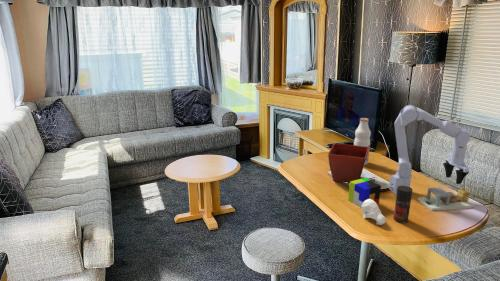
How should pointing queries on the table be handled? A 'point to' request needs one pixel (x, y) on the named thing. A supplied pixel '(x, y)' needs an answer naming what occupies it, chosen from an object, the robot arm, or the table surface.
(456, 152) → the robot arm
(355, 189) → the puzzle toy
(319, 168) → the table surface
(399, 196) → the deodorant
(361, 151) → the plant pot
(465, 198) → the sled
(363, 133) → the white bottle
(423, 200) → the deck tunnel
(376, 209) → the white rounded lumpy piece
